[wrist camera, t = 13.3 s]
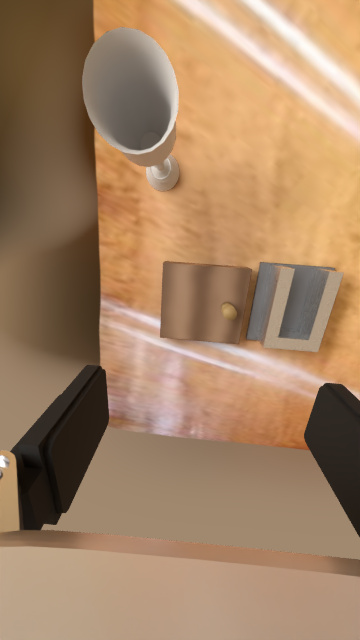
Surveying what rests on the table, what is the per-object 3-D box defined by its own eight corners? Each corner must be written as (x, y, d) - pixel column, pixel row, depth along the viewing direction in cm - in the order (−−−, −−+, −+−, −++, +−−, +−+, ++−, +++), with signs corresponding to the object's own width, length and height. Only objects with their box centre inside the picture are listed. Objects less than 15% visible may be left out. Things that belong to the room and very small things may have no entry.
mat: (332, 267, 36) (335, 268, 35) (309, 343, 41) (311, 344, 40) (260, 262, 36) (261, 262, 36) (245, 337, 41) (246, 339, 40)
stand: (247, 267, 37) (258, 272, 30) (235, 337, 41) (242, 353, 35) (165, 261, 37) (159, 264, 31) (162, 330, 41) (157, 346, 35)
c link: (270, 264, 36) (281, 267, 31) (325, 269, 35) (343, 272, 31) (255, 336, 40) (263, 347, 36) (304, 340, 40) (317, 352, 36)
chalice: (195, 176, 32) (198, 104, 16) (161, 208, 34) (131, 176, 17) (163, 131, 31) (128, -5, 14) (129, 167, 33) (62, 86, 16)
